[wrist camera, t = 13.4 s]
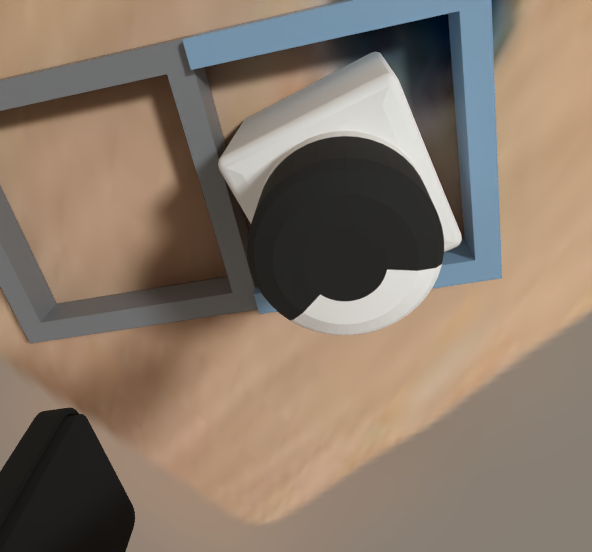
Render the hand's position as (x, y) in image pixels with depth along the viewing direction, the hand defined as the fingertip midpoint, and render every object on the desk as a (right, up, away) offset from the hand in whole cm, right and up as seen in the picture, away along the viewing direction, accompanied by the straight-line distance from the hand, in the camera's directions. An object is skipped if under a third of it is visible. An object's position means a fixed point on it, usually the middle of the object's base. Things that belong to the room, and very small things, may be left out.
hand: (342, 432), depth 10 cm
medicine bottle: (+1, +9, +17) cm, 19 cm away
